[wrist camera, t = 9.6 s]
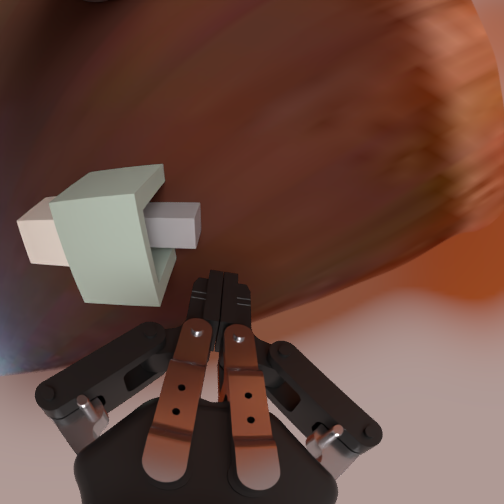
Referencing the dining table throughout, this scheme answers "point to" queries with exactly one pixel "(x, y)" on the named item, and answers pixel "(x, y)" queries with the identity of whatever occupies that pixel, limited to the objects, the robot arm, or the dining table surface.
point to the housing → (113, 236)
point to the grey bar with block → (156, 219)
